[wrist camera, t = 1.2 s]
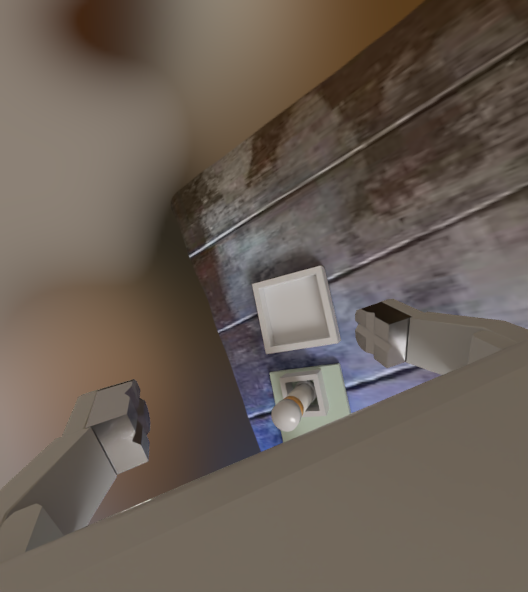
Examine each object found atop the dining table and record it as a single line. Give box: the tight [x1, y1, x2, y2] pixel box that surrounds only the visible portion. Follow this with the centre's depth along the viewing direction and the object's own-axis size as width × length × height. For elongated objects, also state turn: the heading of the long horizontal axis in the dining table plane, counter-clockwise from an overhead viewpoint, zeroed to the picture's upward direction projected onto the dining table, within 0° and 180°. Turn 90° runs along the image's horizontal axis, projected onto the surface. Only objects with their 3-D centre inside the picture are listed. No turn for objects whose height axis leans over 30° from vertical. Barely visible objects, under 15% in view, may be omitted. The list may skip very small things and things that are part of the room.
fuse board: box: [270, 363, 351, 443], centre depth 43 cm, size 12×22×4 cm, turn 13°
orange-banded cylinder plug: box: [271, 380, 317, 432], centre depth 39 cm, size 4×4×11 cm
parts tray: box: [252, 266, 341, 354], centre depth 45 cm, size 12×12×3 cm
